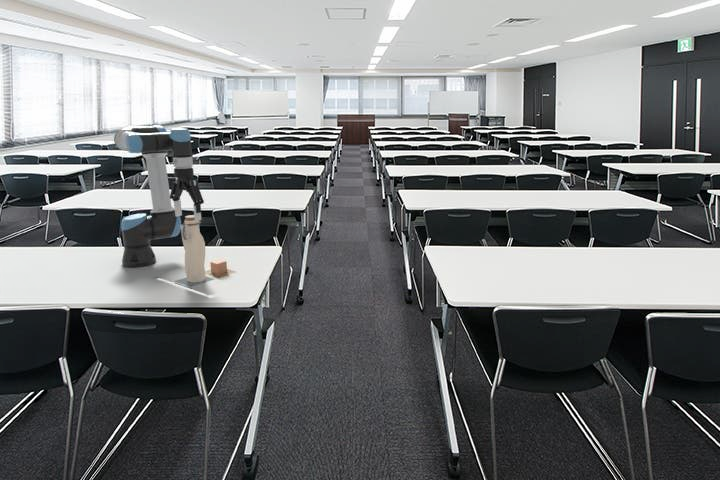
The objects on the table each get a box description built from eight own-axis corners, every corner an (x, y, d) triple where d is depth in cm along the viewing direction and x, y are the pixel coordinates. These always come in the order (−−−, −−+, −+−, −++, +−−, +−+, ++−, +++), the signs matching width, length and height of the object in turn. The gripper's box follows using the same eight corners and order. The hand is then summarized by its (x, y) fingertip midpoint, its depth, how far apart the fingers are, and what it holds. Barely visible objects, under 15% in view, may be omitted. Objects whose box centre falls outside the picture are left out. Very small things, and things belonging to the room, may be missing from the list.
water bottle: (200, 284, 219) (194, 219, 211) (180, 283, 220) (174, 219, 213) (211, 276, 228) (206, 214, 221) (192, 275, 230) (186, 213, 223)
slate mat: (174, 283, 224) (174, 281, 224) (198, 275, 233) (198, 273, 233) (191, 289, 217) (191, 286, 217) (214, 281, 226) (214, 278, 226)
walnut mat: (201, 274, 235) (201, 272, 234) (220, 268, 242) (219, 266, 242) (218, 279, 227) (218, 277, 227) (236, 273, 235) (236, 271, 235)
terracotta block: (211, 272, 234) (210, 261, 233) (220, 269, 238) (219, 259, 237) (218, 274, 231) (217, 263, 230) (227, 271, 235) (226, 261, 234)
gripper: (157, 165, 217) (163, 215, 222) (194, 170, 202) (198, 224, 208) (173, 164, 222) (178, 212, 228) (210, 168, 208) (214, 220, 213)
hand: (188, 218), depth 218 cm, fingers open, 13 cm apart
